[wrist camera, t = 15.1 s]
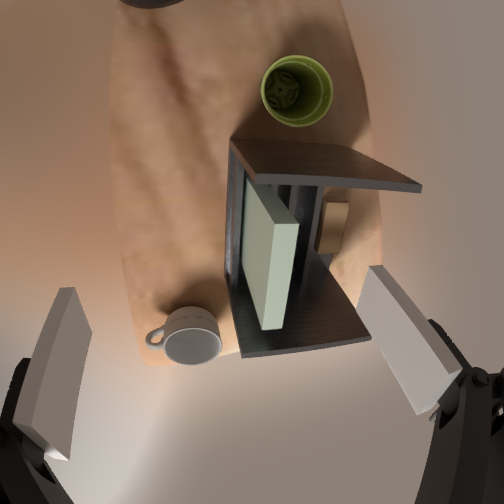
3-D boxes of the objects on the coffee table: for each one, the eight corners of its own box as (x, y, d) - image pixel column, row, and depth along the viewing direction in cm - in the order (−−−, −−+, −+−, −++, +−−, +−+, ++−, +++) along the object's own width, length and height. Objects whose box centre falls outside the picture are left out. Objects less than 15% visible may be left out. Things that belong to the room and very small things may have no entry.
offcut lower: (320, 176, 47) (325, 179, 46) (342, 177, 48) (347, 181, 46) (309, 242, 53) (313, 248, 52) (330, 241, 54) (334, 247, 52)
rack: (229, 138, 43) (255, 173, 27) (347, 146, 47) (422, 185, 31) (224, 275, 55) (241, 358, 39) (324, 269, 59) (370, 340, 42)
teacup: (223, 302, 58) (228, 331, 52) (211, 341, 63) (215, 370, 56) (150, 292, 54) (147, 321, 47) (146, 333, 59) (143, 362, 52)
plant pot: (319, 78, 41) (345, 78, 33) (292, 129, 44) (313, 139, 37) (265, 49, 37) (282, 42, 30) (237, 104, 41) (248, 107, 34)
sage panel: (243, 173, 45) (274, 224, 30) (260, 173, 45) (299, 223, 30) (239, 254, 52) (262, 330, 37) (253, 254, 52) (281, 328, 37)
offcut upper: (322, 197, 47) (327, 202, 45) (344, 198, 48) (349, 203, 46) (313, 248, 52) (317, 253, 50) (334, 247, 52) (339, 253, 51)
